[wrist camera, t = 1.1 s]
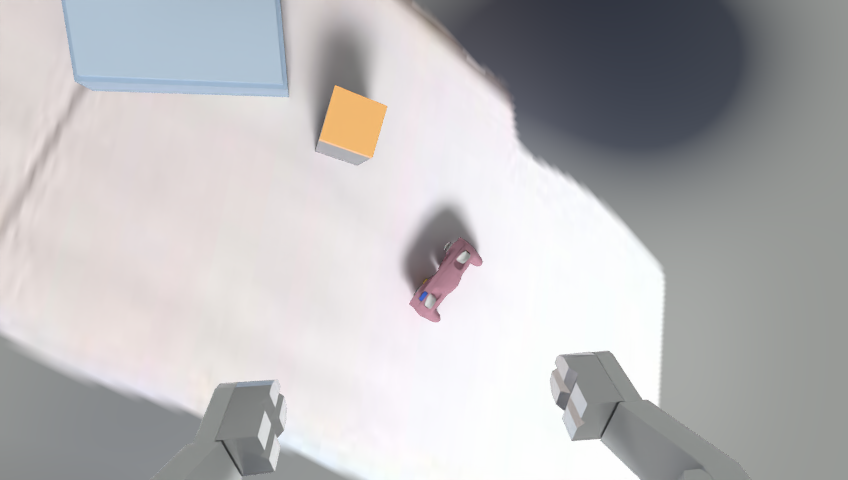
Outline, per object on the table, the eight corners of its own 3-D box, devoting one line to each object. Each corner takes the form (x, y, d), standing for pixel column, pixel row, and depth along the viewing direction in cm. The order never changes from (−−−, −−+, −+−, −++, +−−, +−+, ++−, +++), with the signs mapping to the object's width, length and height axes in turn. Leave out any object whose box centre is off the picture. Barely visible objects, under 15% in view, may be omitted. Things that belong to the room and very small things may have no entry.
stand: (93, 90, 32) (71, 79, 29) (69, -62, 31) (44, -90, 28) (288, 96, 37) (287, 88, 34) (276, -34, 35) (274, -56, 32)
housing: (357, 165, 40) (372, 157, 31) (315, 151, 38) (319, 138, 30) (368, 125, 40) (387, 106, 31) (327, 109, 38) (335, 84, 30)
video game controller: (454, 238, 46) (456, 227, 39) (484, 260, 46) (491, 252, 39) (405, 302, 45) (399, 301, 38) (435, 325, 45) (434, 329, 38)
